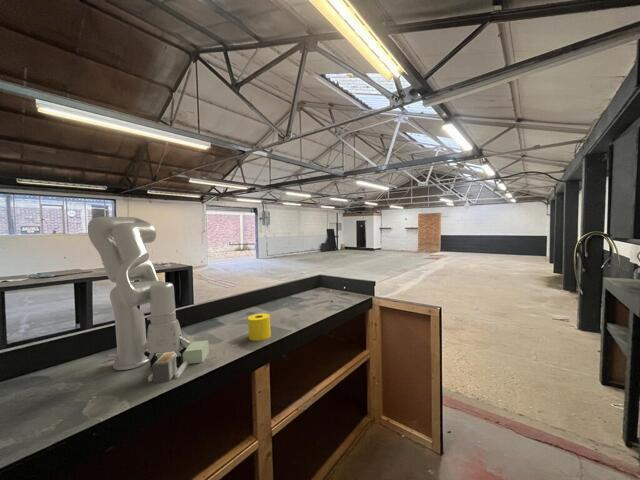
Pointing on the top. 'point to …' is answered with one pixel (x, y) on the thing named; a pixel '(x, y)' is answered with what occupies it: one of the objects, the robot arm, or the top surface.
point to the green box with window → (189, 355)
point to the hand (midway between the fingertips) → (167, 367)
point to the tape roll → (259, 327)
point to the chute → (164, 367)
